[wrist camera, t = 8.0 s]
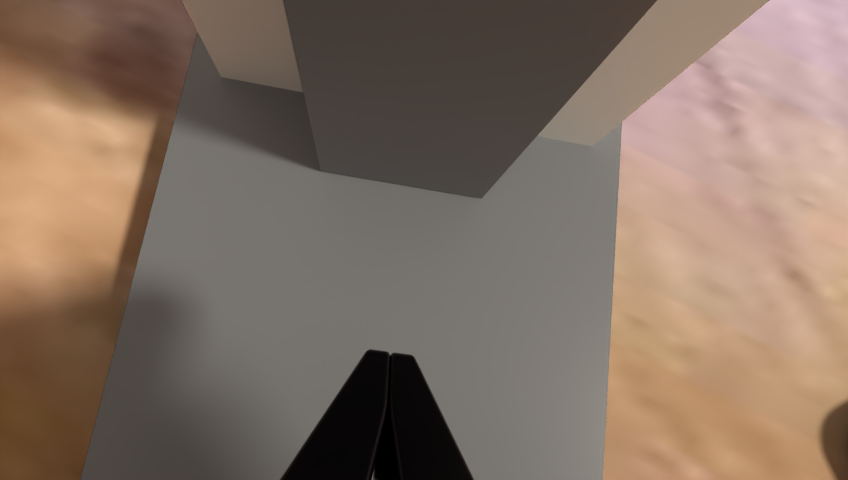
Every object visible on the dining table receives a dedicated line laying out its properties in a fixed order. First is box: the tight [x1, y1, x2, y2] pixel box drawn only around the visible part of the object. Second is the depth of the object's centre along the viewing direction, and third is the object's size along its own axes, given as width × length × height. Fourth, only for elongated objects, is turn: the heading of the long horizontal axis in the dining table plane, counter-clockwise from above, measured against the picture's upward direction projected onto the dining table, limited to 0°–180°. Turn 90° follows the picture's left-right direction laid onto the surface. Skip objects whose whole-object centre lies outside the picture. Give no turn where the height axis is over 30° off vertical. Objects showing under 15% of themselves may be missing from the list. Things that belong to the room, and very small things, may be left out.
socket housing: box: [80, 0, 769, 480], centre depth 12 cm, size 19×14×9 cm
